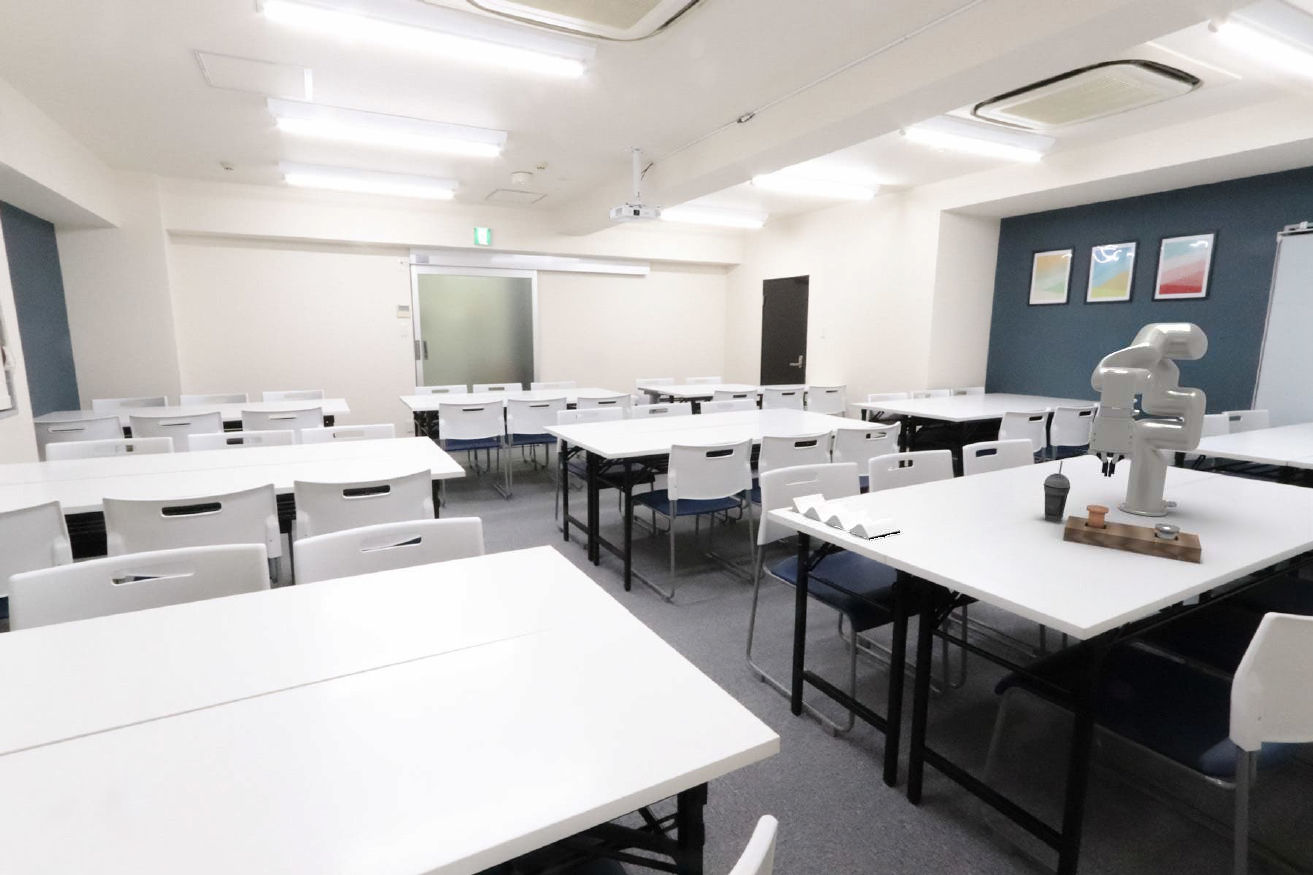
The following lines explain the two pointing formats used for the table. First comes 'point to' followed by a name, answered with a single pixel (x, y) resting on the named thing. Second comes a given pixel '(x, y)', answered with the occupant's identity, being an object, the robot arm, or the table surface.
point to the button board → (1133, 539)
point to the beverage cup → (1055, 496)
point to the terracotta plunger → (1096, 516)
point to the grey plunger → (1167, 531)
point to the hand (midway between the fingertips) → (1107, 476)
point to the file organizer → (844, 517)
